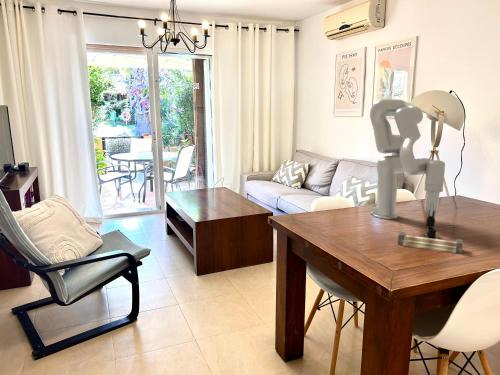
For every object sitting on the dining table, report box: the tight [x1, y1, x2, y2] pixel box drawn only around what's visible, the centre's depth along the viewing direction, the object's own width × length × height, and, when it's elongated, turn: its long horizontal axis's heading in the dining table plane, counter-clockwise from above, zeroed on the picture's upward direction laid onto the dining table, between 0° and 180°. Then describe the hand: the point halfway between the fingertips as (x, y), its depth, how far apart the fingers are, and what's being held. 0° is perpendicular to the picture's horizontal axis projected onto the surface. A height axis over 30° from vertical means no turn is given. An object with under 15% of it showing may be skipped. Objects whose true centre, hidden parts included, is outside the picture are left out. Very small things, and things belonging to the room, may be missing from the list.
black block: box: [422, 226, 439, 239], centre depth 163 cm, size 12×7×5 cm, turn 161°
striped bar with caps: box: [397, 231, 464, 254], centre depth 151 cm, size 23×6×4 cm, turn 62°
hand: (430, 226), depth 174 cm, fingers closed
